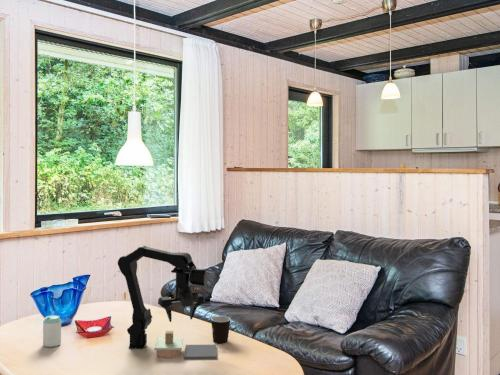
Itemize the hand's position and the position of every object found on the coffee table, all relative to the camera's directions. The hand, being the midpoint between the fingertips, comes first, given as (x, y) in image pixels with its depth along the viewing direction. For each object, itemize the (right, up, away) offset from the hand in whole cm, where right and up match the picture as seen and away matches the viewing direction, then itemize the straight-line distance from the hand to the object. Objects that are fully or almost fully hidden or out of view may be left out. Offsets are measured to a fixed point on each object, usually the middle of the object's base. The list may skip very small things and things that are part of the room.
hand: (180, 320), depth 200 cm
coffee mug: (+16, -13, +14) cm, 25 cm away
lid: (-4, -9, -3) cm, 11 cm away
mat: (+8, -13, -2) cm, 16 cm away
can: (-55, -11, +3) cm, 56 cm away
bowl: (-5, -13, -3) cm, 14 cm away
